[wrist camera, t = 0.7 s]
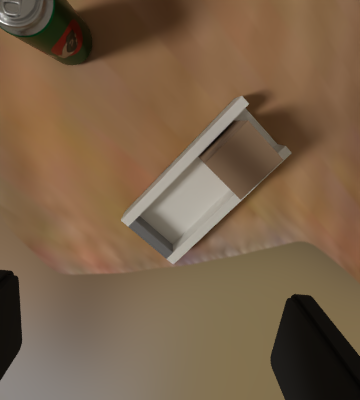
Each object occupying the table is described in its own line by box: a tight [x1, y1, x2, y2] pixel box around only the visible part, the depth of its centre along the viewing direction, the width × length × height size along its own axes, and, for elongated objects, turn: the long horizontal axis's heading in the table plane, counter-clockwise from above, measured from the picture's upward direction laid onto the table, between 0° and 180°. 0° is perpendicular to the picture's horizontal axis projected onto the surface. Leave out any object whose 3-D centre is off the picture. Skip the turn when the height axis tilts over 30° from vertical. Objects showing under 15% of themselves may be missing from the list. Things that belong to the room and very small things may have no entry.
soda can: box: [0, 0, 92, 65], centre depth 24 cm, size 5×5×12 cm
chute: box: [121, 96, 291, 264], centre depth 33 cm, size 20×9×3 cm, turn 136°
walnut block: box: [198, 120, 283, 200], centre depth 30 cm, size 6×6×6 cm
